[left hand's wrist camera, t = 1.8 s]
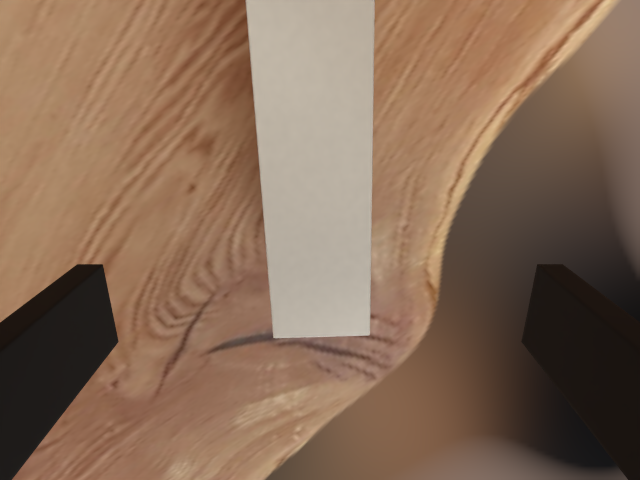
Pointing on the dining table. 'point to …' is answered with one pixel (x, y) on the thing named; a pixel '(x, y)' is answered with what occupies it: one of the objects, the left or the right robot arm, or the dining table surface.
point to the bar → (315, 160)
